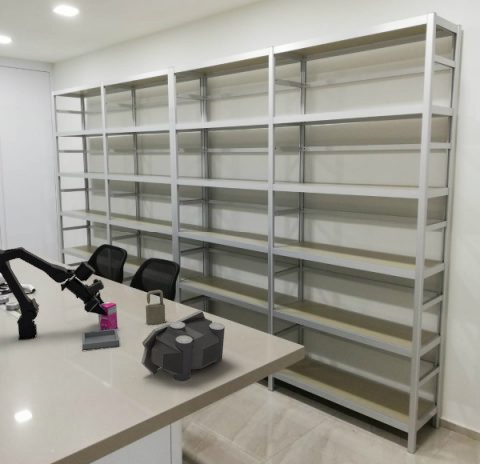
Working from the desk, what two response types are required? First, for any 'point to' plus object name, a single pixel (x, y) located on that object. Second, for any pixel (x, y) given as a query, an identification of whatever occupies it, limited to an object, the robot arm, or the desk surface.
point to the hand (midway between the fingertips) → (107, 311)
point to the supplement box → (108, 317)
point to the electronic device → (184, 346)
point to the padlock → (155, 309)
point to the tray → (100, 339)
